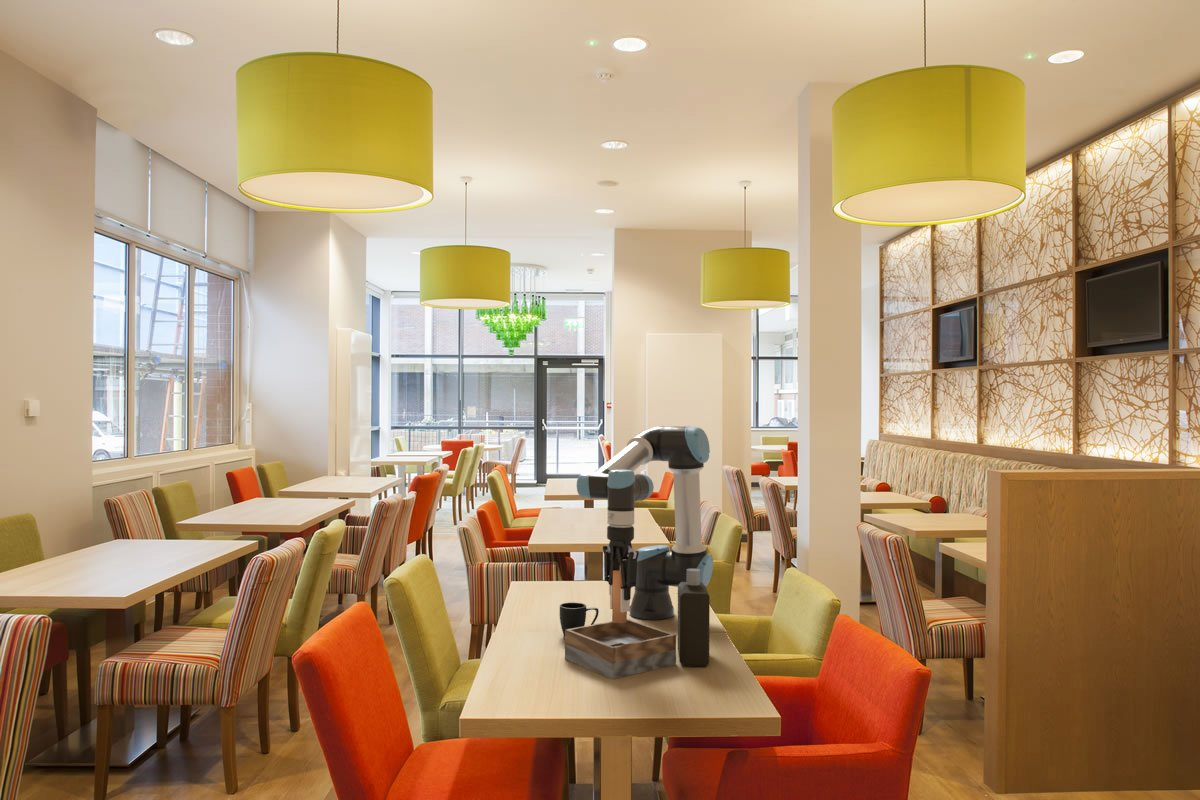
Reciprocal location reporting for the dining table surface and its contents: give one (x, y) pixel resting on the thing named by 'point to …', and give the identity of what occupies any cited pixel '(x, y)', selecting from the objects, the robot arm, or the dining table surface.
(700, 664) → the bottle
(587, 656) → the crate
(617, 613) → the peg
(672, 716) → the dining table surface
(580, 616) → the mug
